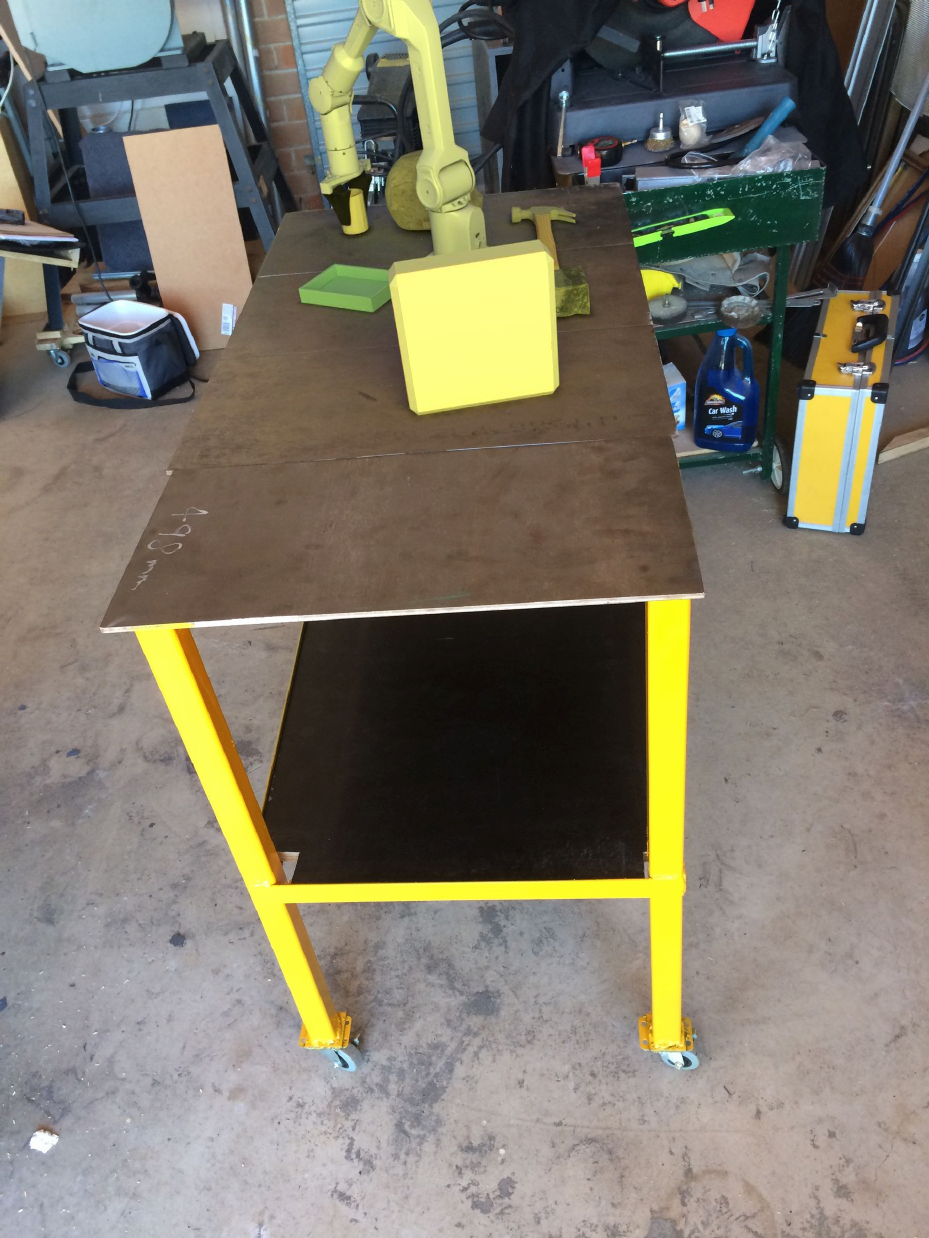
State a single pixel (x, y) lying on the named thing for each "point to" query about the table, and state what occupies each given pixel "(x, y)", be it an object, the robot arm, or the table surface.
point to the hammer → (543, 223)
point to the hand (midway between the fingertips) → (354, 219)
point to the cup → (357, 213)
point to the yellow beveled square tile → (476, 326)
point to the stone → (411, 195)
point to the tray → (348, 288)
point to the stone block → (571, 292)
